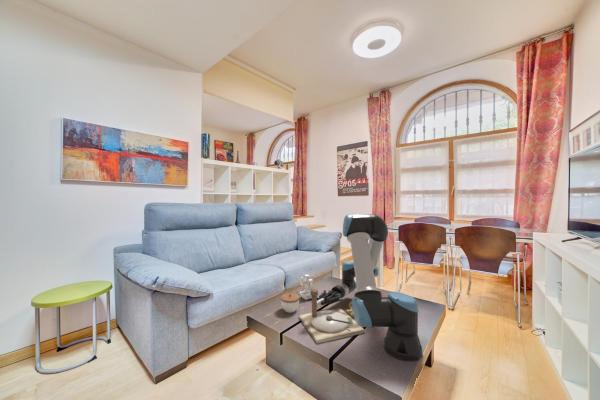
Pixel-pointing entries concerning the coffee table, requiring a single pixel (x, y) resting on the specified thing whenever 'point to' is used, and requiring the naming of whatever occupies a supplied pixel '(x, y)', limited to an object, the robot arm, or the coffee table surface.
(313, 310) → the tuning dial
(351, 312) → the cat figure
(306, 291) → the figurine
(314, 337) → the beige flat board
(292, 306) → the lidded jar
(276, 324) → the coffee table surface
